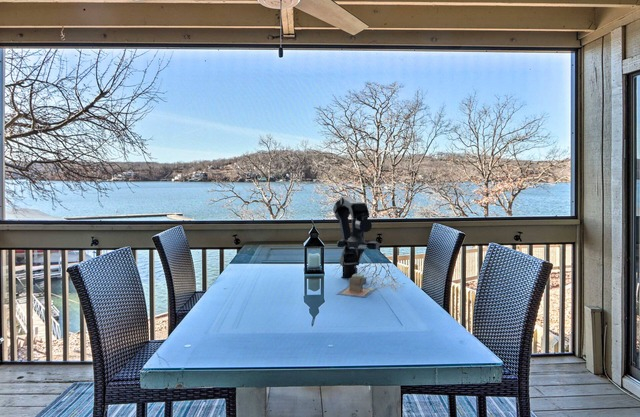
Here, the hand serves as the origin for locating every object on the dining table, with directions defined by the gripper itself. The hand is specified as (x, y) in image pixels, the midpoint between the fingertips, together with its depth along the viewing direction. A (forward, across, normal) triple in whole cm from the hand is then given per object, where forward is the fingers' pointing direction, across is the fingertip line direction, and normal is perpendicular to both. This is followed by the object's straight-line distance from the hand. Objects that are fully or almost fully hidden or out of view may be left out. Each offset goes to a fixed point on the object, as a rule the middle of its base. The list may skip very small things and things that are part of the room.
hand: (357, 262), depth 195 cm
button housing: (+10, 0, 0) cm, 10 cm away
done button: (+8, 0, 0) cm, 8 cm away
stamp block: (+10, +4, -14) cm, 18 cm away
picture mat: (+10, +4, -13) cm, 17 cm away
